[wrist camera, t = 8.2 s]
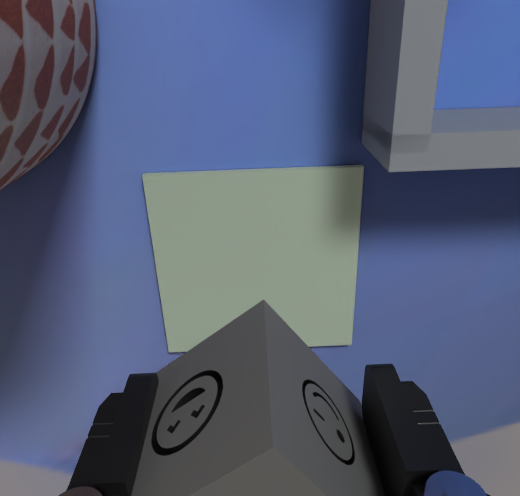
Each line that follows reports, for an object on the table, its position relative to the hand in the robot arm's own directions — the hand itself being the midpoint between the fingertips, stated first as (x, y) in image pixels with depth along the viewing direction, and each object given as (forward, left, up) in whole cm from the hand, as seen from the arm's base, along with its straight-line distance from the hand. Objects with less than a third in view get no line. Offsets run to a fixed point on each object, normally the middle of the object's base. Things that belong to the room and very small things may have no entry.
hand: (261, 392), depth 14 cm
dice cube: (0, +1, -1) cm, 1 cm away
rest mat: (0, 0, -8) cm, 8 cm away
